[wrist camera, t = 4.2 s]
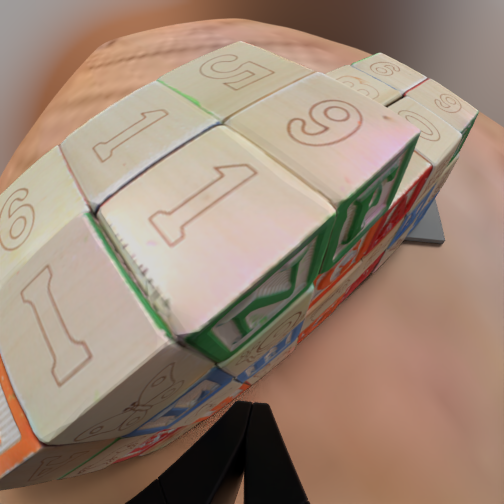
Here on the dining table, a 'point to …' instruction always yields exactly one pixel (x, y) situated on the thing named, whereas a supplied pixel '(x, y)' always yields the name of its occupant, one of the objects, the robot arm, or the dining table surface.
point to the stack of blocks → (200, 244)
